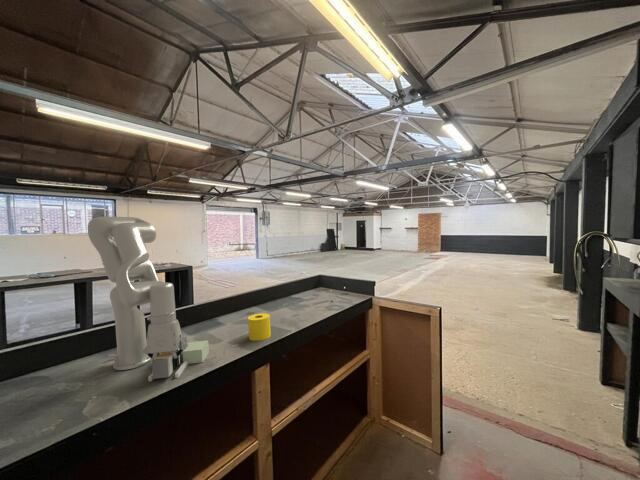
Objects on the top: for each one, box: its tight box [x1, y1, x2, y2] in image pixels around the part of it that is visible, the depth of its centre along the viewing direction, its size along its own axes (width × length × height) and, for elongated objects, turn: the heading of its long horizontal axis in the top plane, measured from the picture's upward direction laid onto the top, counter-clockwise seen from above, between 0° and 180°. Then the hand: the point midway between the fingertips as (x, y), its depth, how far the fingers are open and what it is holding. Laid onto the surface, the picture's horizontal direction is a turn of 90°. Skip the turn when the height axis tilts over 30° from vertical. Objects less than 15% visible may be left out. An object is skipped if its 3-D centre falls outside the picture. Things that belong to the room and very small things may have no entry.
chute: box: [151, 348, 180, 380], centre depth 95 cm, size 10×5×6 cm, turn 8°
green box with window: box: [147, 332, 210, 382], centre depth 101 cm, size 16×20×9 cm
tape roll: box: [247, 312, 272, 342], centre depth 126 cm, size 10×10×9 cm
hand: (167, 368), depth 95 cm, fingers closed on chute, 4 cm apart
